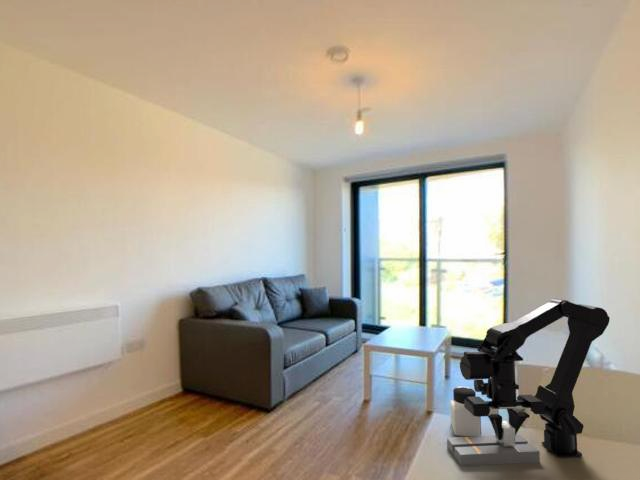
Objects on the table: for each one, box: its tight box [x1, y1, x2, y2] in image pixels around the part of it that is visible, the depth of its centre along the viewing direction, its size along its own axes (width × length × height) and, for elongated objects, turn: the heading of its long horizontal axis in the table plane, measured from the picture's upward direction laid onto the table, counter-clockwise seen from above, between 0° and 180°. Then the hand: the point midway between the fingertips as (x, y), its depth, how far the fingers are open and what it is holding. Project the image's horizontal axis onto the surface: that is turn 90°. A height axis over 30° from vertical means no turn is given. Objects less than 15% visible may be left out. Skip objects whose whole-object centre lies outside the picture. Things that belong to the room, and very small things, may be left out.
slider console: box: [446, 434, 541, 467], centre depth 91 cm, size 20×8×3 cm, turn 93°
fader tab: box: [494, 420, 516, 446], centre depth 91 cm, size 3×4×6 cm
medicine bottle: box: [449, 386, 482, 437], centre depth 103 cm, size 7×7×12 cm
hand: (505, 438), depth 91 cm, fingers closed on fader tab, 3 cm apart
